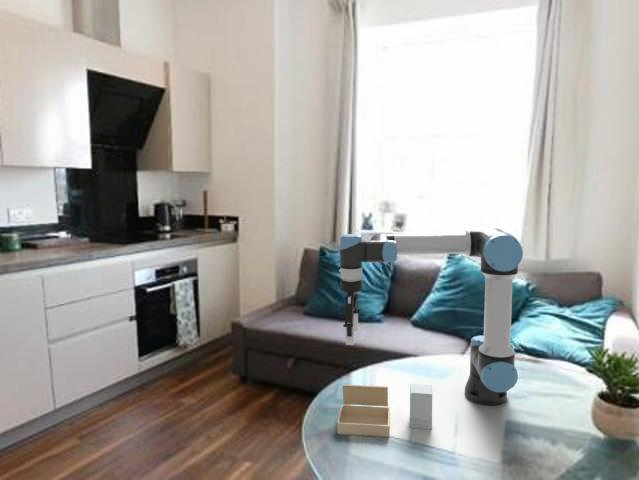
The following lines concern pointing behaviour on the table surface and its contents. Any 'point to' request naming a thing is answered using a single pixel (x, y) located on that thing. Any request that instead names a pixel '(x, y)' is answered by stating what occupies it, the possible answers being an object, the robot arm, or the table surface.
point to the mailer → (364, 421)
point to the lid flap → (365, 395)
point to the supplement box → (421, 406)
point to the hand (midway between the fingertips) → (352, 337)
